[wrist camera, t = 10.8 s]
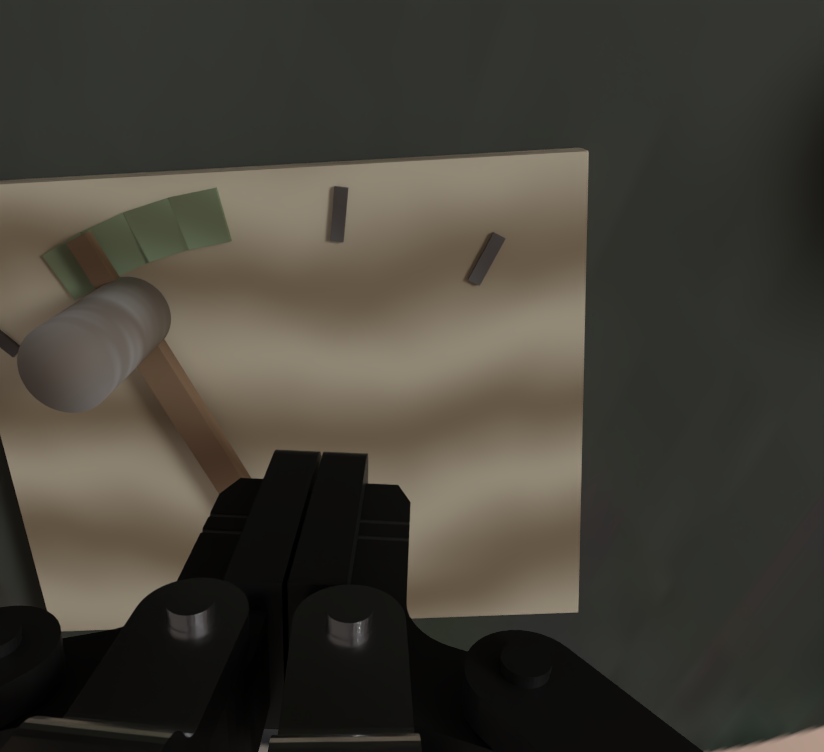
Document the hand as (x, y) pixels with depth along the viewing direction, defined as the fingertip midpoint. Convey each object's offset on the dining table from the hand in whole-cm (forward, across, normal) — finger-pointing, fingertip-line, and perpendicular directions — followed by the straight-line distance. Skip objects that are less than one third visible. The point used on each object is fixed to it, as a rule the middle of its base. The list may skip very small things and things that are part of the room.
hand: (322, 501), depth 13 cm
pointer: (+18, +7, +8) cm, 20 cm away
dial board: (+20, +4, +7) cm, 21 cm away
